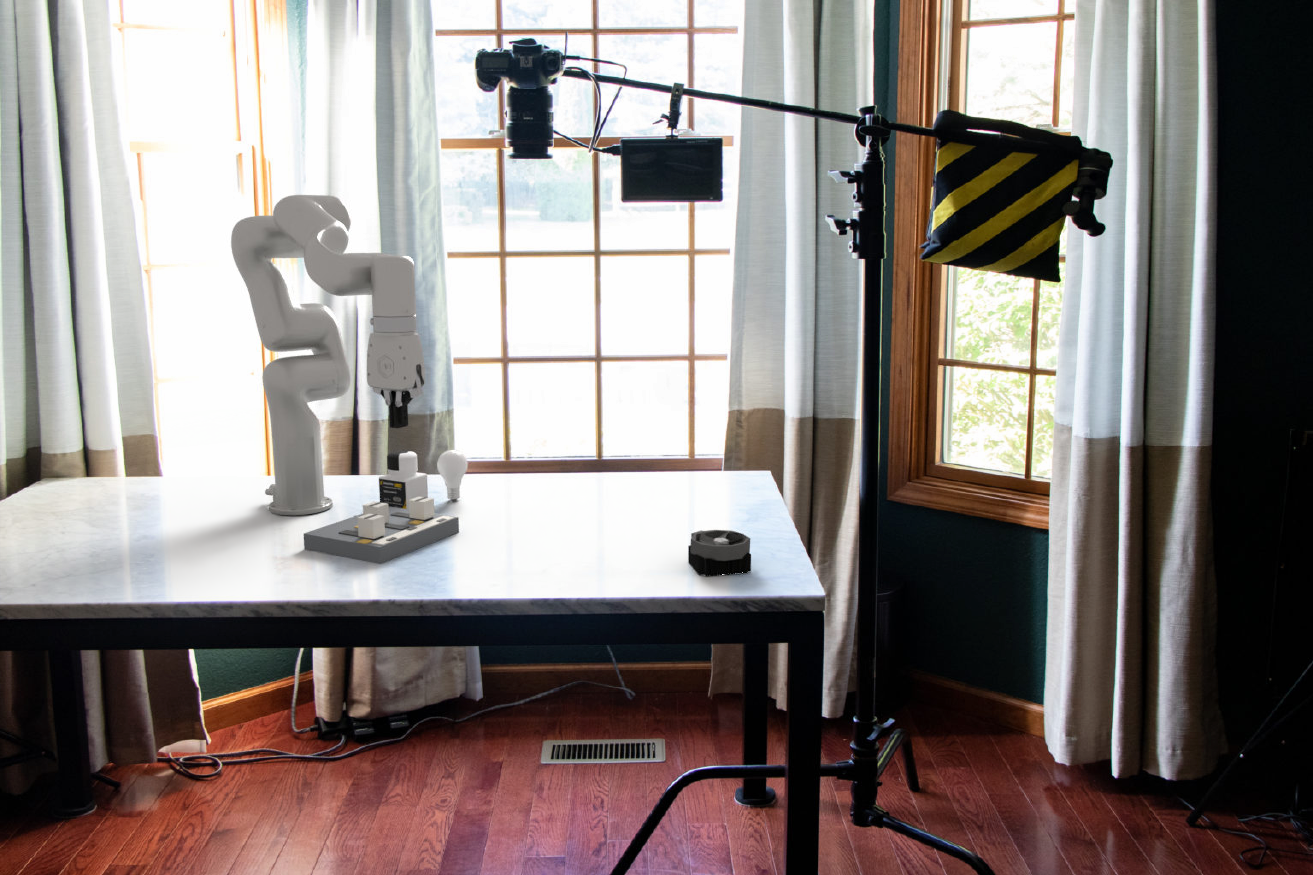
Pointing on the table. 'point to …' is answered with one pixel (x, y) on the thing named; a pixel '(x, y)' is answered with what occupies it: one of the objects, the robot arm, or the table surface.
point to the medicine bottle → (402, 480)
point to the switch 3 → (421, 508)
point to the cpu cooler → (719, 552)
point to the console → (396, 541)
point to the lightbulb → (452, 471)
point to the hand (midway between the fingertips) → (399, 426)
